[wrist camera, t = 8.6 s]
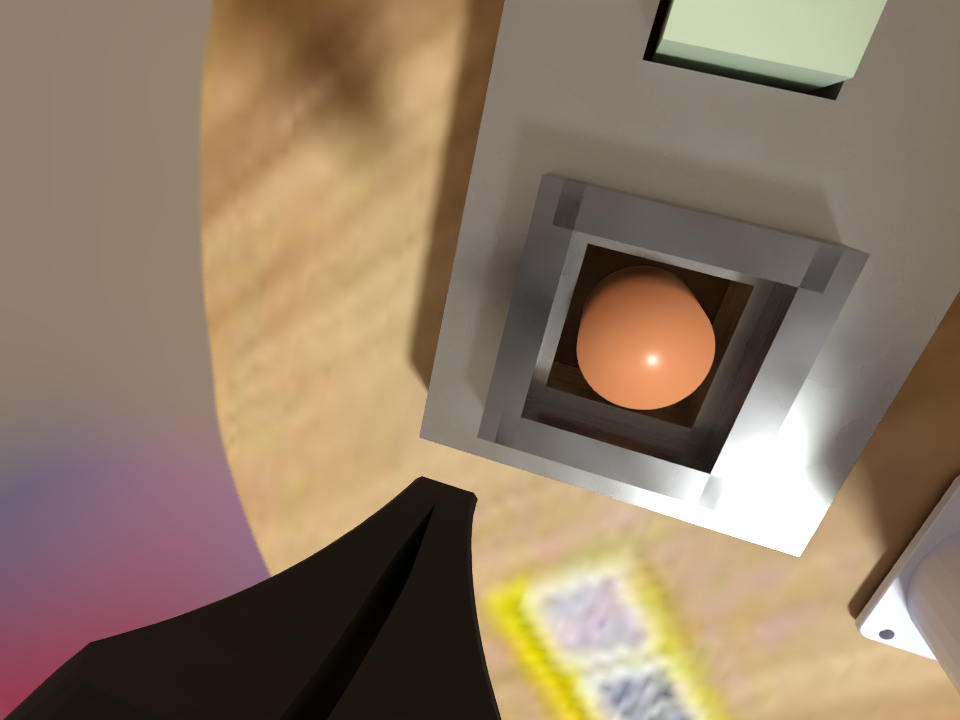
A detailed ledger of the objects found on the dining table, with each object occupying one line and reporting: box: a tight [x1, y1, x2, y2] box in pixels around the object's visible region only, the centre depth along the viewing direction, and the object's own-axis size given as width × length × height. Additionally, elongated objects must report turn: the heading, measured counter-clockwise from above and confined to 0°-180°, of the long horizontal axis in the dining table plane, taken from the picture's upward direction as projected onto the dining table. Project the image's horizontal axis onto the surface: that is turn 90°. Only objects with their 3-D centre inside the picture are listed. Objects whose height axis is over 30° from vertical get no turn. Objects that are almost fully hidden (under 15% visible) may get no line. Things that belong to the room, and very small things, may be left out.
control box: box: [419, 0, 960, 556], centre depth 15 cm, size 14×22×4 cm, turn 168°
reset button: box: [577, 266, 715, 410], centre depth 17 cm, size 4×4×3 cm
